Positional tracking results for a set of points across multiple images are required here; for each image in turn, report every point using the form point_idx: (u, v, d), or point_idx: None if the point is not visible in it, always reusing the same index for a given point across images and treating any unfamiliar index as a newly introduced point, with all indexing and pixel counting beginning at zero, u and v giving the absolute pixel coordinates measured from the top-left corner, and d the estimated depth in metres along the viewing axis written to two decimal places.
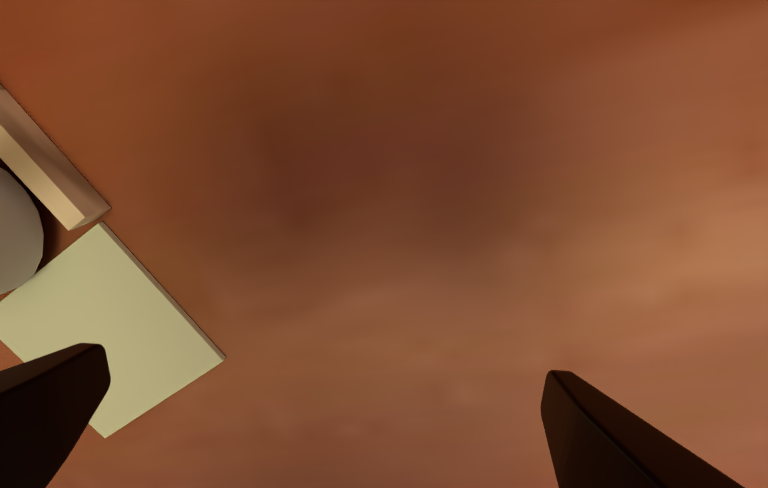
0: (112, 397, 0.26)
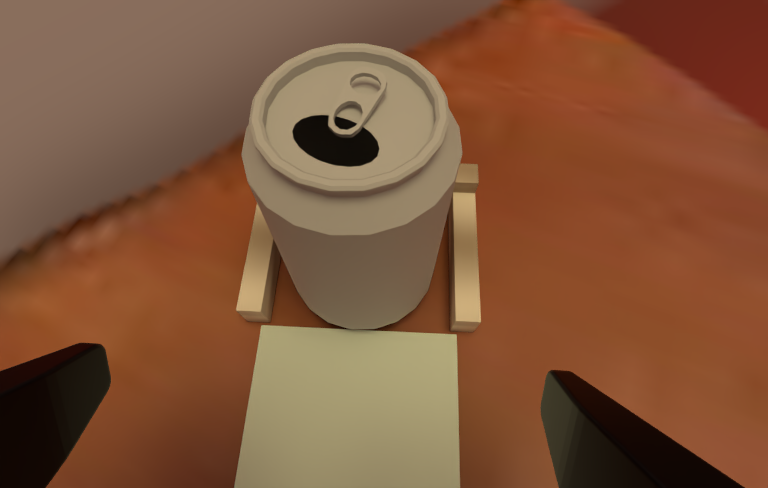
0: None
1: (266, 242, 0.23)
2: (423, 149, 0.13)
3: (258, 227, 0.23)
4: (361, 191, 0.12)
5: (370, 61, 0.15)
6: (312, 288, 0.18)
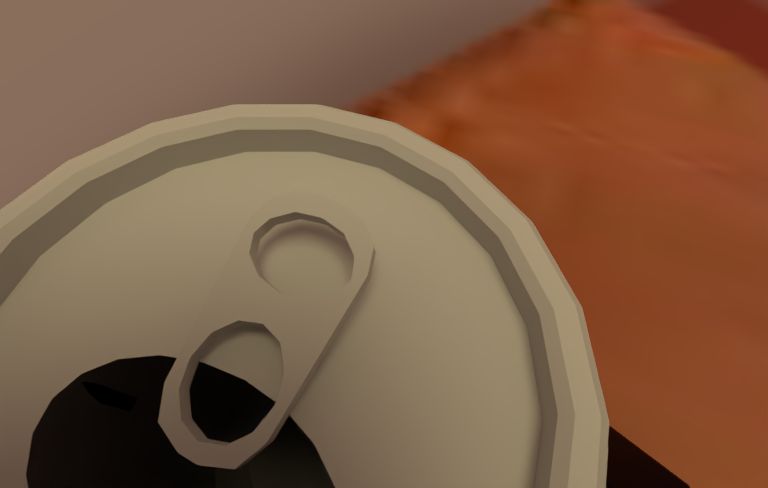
0: None
1: None
2: None
3: None
4: None
5: (330, 154, 0.05)
6: None
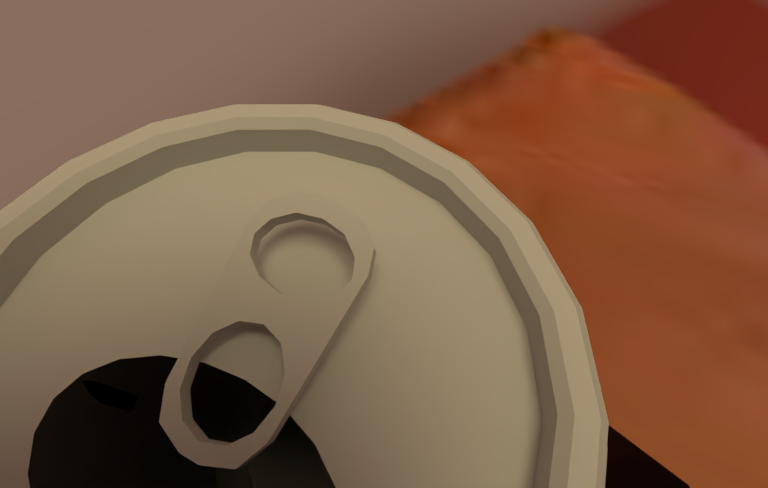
0: None
1: None
2: None
3: None
4: None
5: (331, 154, 0.05)
6: None
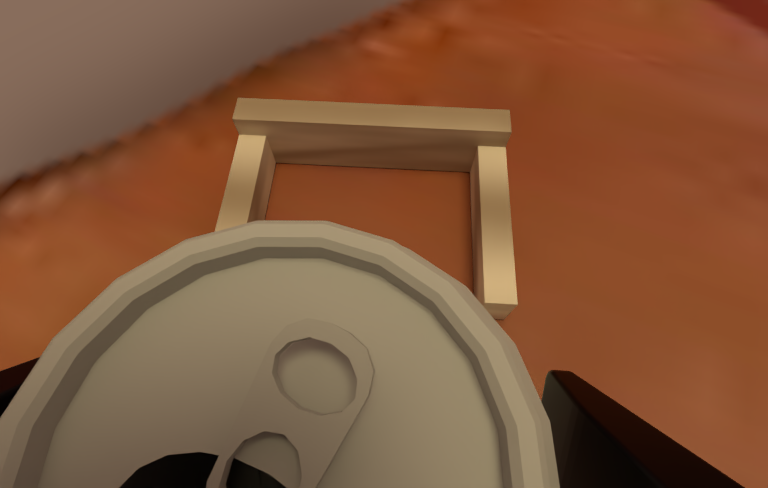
0: None
1: (243, 204, 0.18)
2: None
3: (234, 185, 0.18)
4: None
5: (337, 264, 0.06)
6: None
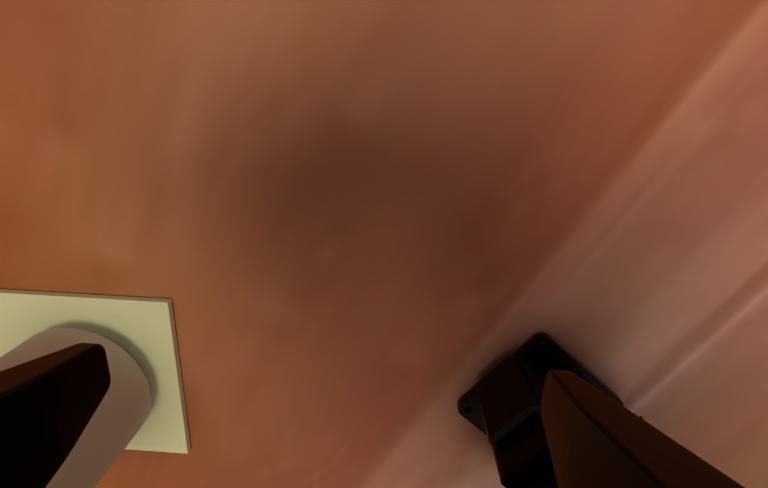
0: (151, 415, 0.25)
1: None
2: None
3: None
4: None
5: None
6: (99, 479, 0.20)
